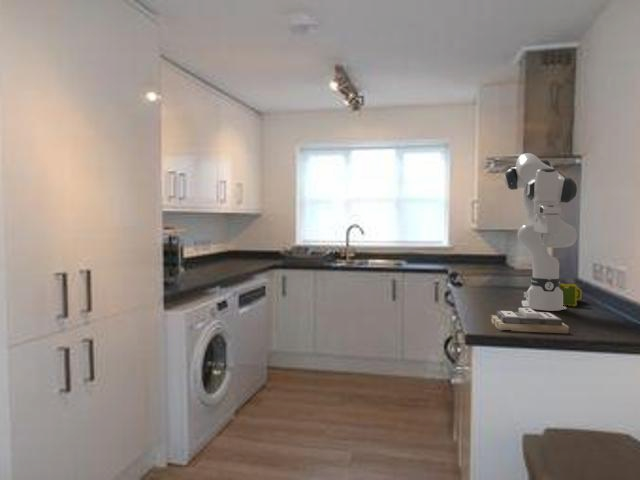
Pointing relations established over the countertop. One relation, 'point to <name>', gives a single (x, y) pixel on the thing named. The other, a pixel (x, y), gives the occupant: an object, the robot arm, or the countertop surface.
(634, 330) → the countertop surface
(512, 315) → the key one
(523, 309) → the key two
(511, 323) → the key panel
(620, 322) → the countertop surface
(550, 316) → the key three
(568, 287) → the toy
